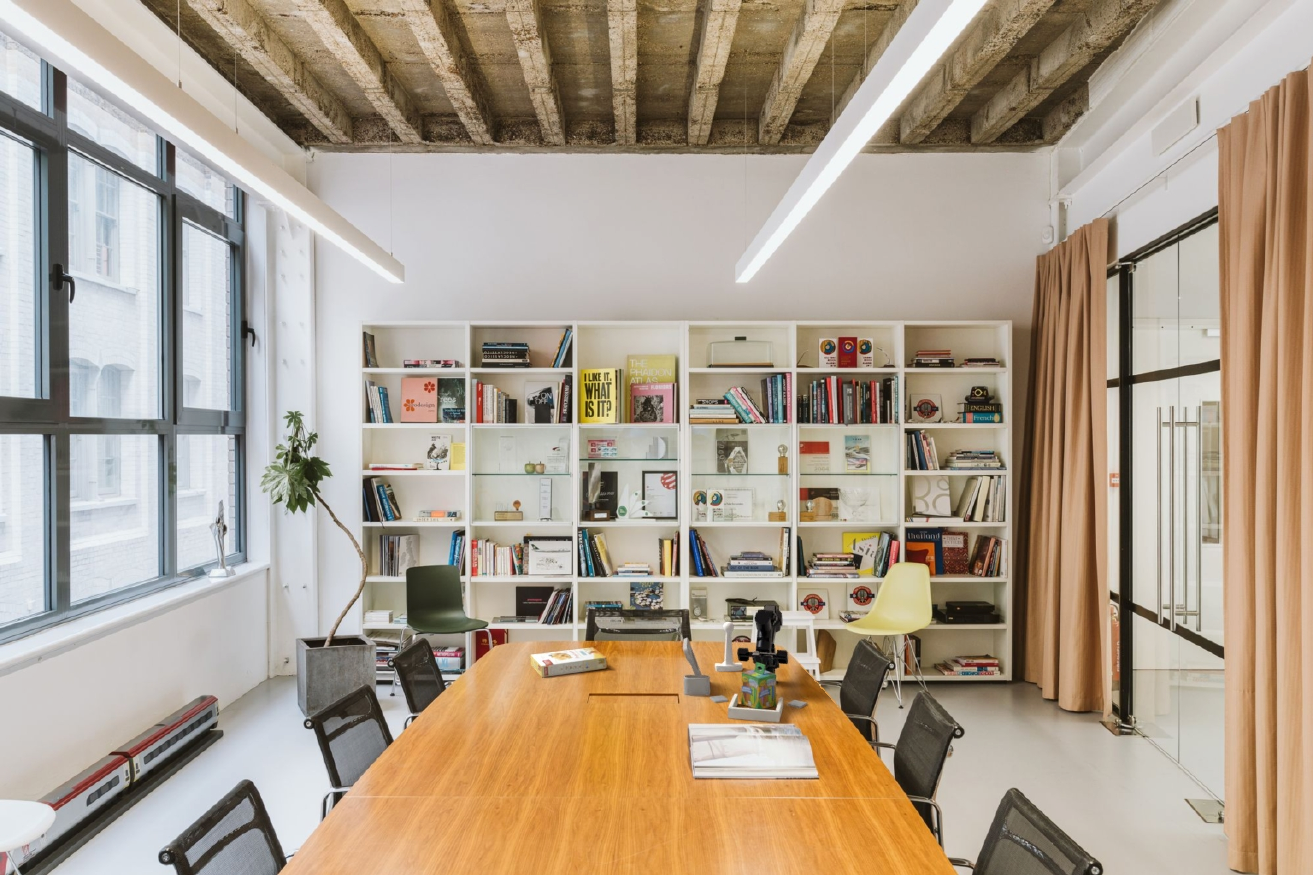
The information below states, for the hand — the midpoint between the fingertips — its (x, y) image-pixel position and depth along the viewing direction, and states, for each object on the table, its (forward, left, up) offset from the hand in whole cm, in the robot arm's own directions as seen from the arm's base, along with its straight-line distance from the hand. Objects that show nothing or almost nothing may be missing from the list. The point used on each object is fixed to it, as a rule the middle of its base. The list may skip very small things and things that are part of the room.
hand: (761, 676), depth 283 cm
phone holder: (+11, -24, -8) cm, 28 cm away
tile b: (+13, -8, -9) cm, 18 cm away
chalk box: (+6, +5, -8) cm, 11 cm away
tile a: (-6, +13, -9) cm, 16 cm away
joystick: (-15, -35, -8) cm, 39 cm away
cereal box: (+37, -78, -9) cm, 87 cm away
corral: (+11, +9, -8) cm, 17 cm away
